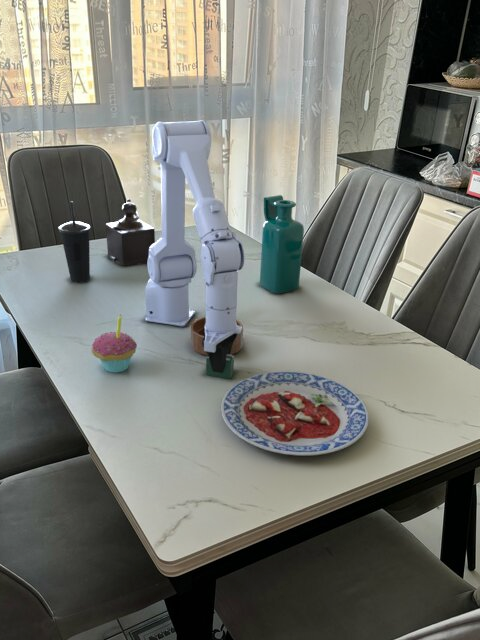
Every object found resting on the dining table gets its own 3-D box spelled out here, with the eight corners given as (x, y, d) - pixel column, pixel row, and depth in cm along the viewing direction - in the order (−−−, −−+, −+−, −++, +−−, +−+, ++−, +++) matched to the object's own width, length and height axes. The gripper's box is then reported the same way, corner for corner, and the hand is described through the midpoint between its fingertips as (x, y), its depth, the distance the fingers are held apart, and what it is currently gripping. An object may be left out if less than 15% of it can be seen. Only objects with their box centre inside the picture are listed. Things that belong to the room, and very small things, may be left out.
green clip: (206, 374, 119) (206, 356, 116) (209, 368, 121) (209, 350, 118) (230, 378, 118) (230, 360, 115) (233, 372, 120) (234, 354, 117)
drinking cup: (101, 277, 159) (94, 200, 148) (80, 287, 153) (71, 207, 142) (80, 271, 162) (71, 195, 151) (59, 280, 156) (48, 201, 145)
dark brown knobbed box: (104, 256, 172) (98, 191, 162) (139, 249, 178) (135, 186, 168) (129, 273, 162) (125, 205, 152) (165, 266, 167) (163, 200, 157)
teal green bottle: (301, 288, 157) (310, 203, 144) (276, 295, 152) (282, 207, 140) (278, 276, 163) (284, 193, 151) (253, 282, 159) (257, 197, 147)
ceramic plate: (259, 480, 93) (260, 465, 91) (199, 395, 112) (199, 382, 111) (396, 444, 102) (399, 429, 100) (319, 371, 121) (321, 358, 120)
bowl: (183, 353, 126) (183, 334, 123) (200, 331, 135) (200, 312, 132) (234, 362, 123) (235, 342, 121) (247, 338, 132) (248, 319, 130)
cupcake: (144, 361, 122) (141, 307, 116) (124, 381, 116) (120, 325, 109) (107, 353, 125) (101, 299, 118) (85, 373, 118) (78, 317, 111)
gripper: (231, 323, 104) (229, 389, 112) (251, 291, 116) (248, 353, 123) (192, 317, 106) (193, 383, 113) (216, 287, 117) (215, 348, 125)
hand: (220, 367), depth 118 cm, fingers closed on green clip, 2 cm apart
